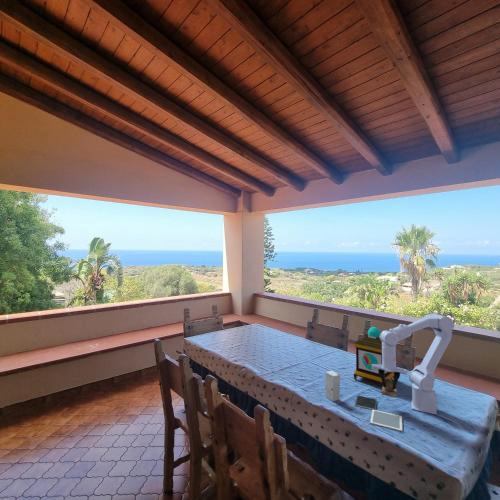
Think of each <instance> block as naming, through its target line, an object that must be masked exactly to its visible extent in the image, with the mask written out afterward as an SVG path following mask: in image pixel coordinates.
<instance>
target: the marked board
mask: <svg viewBox="0 0 500 500" xmlns="http://www.w3.org/2000/svg"><path fill="white" fill-rule="evenodd" d="M373 424H374V426H377V427H381V426H383V427H382V428H385V427H387V428H386V429H388V428H390V430H392V429H394V431H396V430H397V432H399V433H400V432H401V433H403V431H404V428H403V427H404V426H403V415H397V414H395V413H391V412H386V411H381V410H378V409H376V410H373V409H372V410H371V414H370V419H369V425H373Z"/></svg>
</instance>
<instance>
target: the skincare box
mask: <svg viewBox="0 0 500 500" xmlns="http://www.w3.org/2000/svg"><path fill="white" fill-rule="evenodd" d="M340 391H341V374H339V373H337V372H336V371H335V370H334V371H333V370H328V371H325V394H324V395H325V396H324V397H326V398H327V399H328V400H330V401H332V402H337V401H340V399H341V397H340V395H341V393H340Z"/></svg>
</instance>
